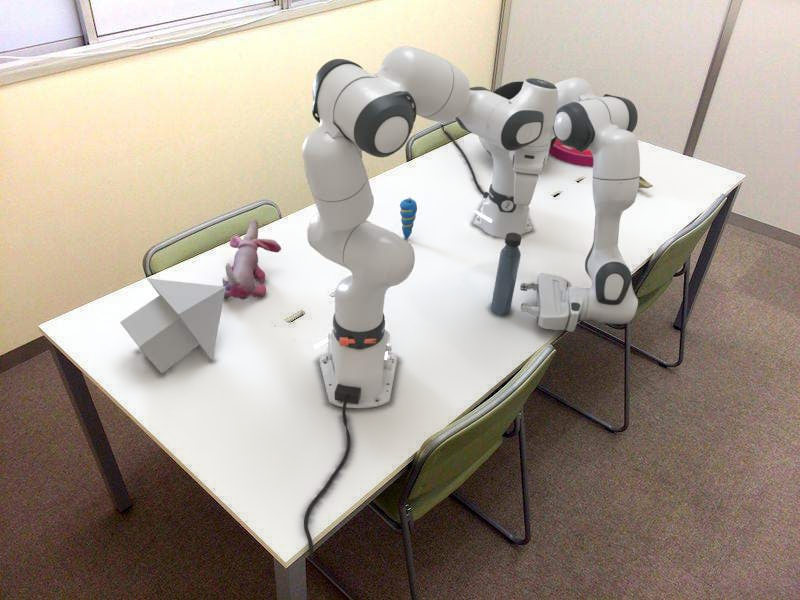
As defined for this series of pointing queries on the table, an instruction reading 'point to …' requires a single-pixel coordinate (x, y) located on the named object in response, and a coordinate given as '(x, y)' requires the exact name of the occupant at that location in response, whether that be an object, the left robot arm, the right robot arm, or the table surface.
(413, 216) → the ornament
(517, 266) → the bottle
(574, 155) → the sign
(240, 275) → the toy
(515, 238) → the cap
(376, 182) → the table surface
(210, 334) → the pyramid on cube
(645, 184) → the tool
